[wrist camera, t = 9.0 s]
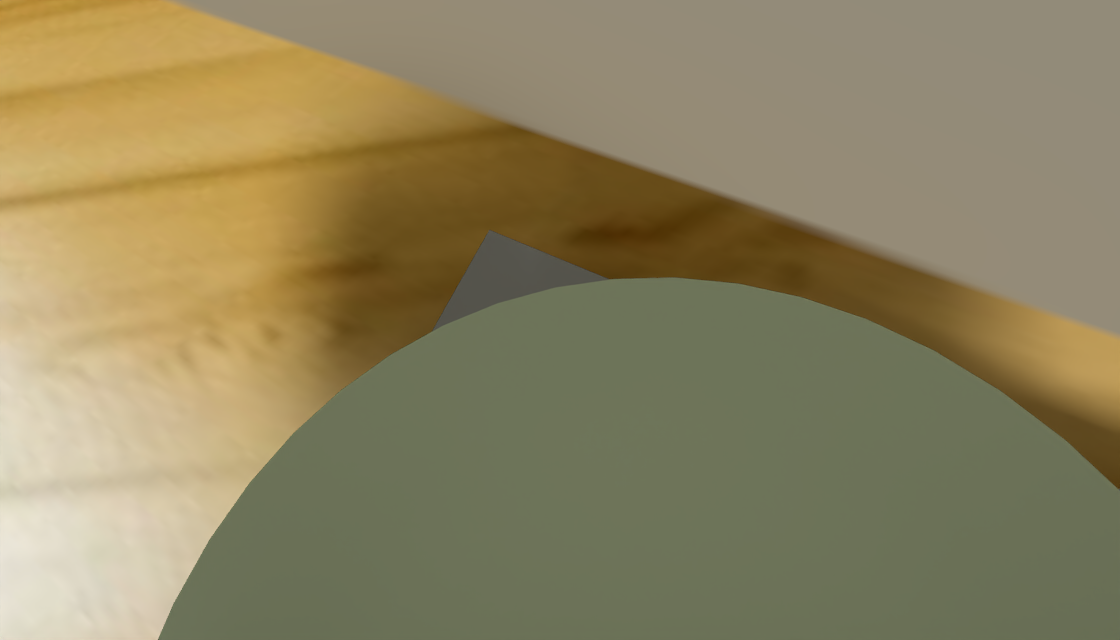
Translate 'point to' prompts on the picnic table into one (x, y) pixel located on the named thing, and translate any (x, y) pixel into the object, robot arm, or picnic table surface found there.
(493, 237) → the slotted grey base
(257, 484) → the post
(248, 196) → the picnic table surface
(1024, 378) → the picnic table surface
